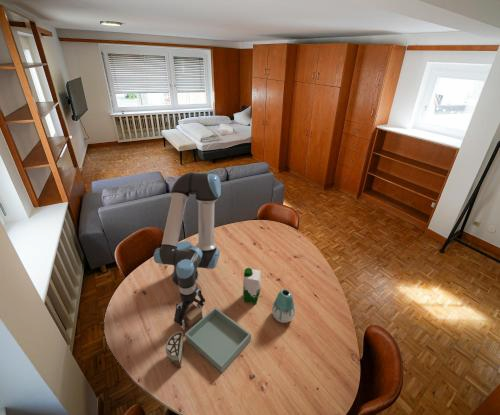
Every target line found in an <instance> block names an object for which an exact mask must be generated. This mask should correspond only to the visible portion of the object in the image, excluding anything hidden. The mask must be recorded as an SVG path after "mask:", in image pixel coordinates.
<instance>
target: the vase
mask: <svg viewBox="0 0 500 415" xmlns="http://www.w3.org/2000/svg"><path fill="white" fill-rule="evenodd" d="M271 313H272V316H273V318H274V319H275V320H276V321H277V322H279V323H281V324H286V323H289V322H291V321H292V320H293V319H294V317H295V315H296V306H295V302H294V297H293V294H292V292H291V291H290V290H289V289H287V288H284V289H281V290H280V291H279V292H278V293H277V296H276V298H275V299H274V302H273V304H272V306H271Z"/></svg>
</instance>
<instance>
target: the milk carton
mask: <svg viewBox="0 0 500 415" xmlns="http://www.w3.org/2000/svg"><path fill="white" fill-rule="evenodd" d="M261 272H262V271H261V270H259V269H253V268H250V267H247V268H245V269H244V272H243V277H242V278H243V281H242V282H243V284H242V287H243V288H242V289H243V295H242V296H243V302H244V303H250V304H255V305H256V304H257V303H258V300H259V297H260V292H261V282H262V281H261V280H262V276H261V274H262V273H261Z"/></svg>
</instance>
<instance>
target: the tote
mask: <svg viewBox="0 0 500 415" xmlns="http://www.w3.org/2000/svg"><path fill="white" fill-rule="evenodd" d="M202 317H203V318H202V319H201V320H200V321H199V322H198V323H197V324H195V325H194V326H193V327H192V328H191V329H190V328H189V329H188V330H187V331H186V332H185V333H184V336H185V341H186V342H187V343H188V344H189V345H190V346H191V347H192V348H194V350H196V351H197V352H198V353H199V354H200V355H201V356H202V357H203V358H205V360H206V361H207V362H208V363H210V365H212V366H213V368H215V369H216V370H217V371H218V372H219V373H220V374H223V373H224V372H225V371H226V370H227V368H228V367H229V366H230V365H231V364H232V362H234V361H235V359H236V358H237V357H238V356H239V355H240V354H241V353H242V351H244V350H245V348H246V346H248V344H249V343H250V342H251V341H252V333H250V332H249V331H248V330H247V329H245V328H244V327H242V326H241V325H240V324H238V323H237V322H236V321H235V320H234V319H232V318H230V317H229V316H228V315H226V314H225V313H224V312H222V311H221V310H220V309H218V308H217V307H214V308H212V309H211V310H210V311H209V312H208V313H207V314H206V315H205V316H202Z"/></svg>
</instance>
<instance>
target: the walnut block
mask: <svg viewBox="0 0 500 415" xmlns="http://www.w3.org/2000/svg"><path fill="white" fill-rule="evenodd" d="M203 317H204V316H203V309H202V310H200V309H199V308H198V307H197V305H196V304H194V302H193V303H192V304H190V305H189V307H188V309H187V310H186V312H185V315H184V318H183V320H184V324H185V326H186V327H187V328H188V329H189V330H190V329H191V328H192V327H193V326H194V325H195V324H197V323H198V322H199V321H200V320H201V319H202V318H203Z"/></svg>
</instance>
